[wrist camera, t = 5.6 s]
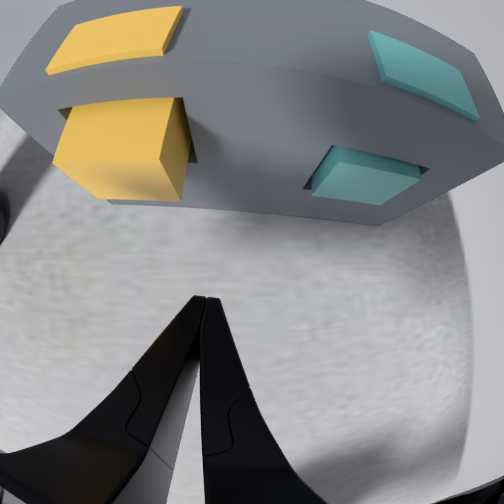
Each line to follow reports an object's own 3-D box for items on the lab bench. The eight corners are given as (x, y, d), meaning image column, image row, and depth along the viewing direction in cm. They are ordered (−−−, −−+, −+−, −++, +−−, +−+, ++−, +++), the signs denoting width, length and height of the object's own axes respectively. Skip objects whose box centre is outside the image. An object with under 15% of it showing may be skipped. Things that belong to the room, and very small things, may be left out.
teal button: (379, 205, 14) (420, 179, 10) (311, 195, 14) (338, 161, 10) (374, 148, 15) (407, 113, 11) (310, 136, 14) (332, 92, 10)
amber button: (181, 202, 11) (159, 159, 7) (98, 199, 11) (52, 162, 7) (193, 129, 12) (181, 71, 8) (115, 130, 12) (84, 81, 8)
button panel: (378, 225, 20) (522, 151, 6) (111, 203, 19) (-12, 97, 5) (373, 156, 21) (476, 50, 7) (128, 134, 19) (57, 2, 6)
